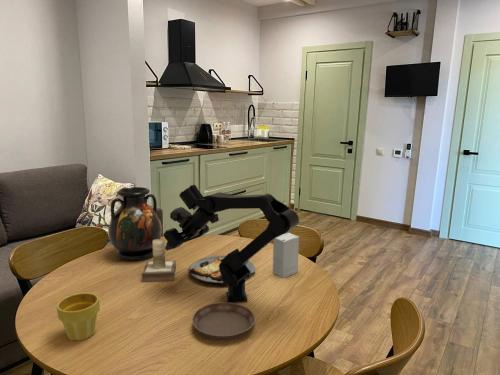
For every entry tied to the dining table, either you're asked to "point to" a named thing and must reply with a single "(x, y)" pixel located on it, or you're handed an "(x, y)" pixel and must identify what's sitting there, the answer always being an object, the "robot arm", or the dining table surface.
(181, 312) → the dining table surface
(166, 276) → the plinth
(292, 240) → the skincare box
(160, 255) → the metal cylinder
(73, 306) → the plant pot
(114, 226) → the amphora vase
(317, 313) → the dining table surface
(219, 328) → the plant saucer
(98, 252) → the dining table surface
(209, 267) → the food plate
